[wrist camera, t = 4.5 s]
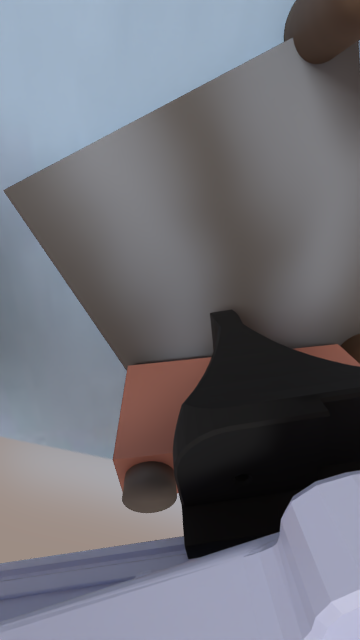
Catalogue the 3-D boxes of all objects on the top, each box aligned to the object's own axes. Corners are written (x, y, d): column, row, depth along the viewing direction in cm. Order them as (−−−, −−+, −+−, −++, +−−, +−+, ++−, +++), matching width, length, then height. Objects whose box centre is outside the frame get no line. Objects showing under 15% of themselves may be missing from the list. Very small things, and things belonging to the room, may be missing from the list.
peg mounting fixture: (172, 429, 17) (180, 568, 11) (-8, 162, 10) (-298, 129, 4) (374, 357, 16) (516, 472, 9) (350, -34, 8) (980, -733, 2)
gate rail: (328, 379, 15) (418, 484, 10) (135, 400, 14) (122, 520, 9) (337, 343, 13) (445, 441, 8) (127, 365, 13) (109, 481, 8)
